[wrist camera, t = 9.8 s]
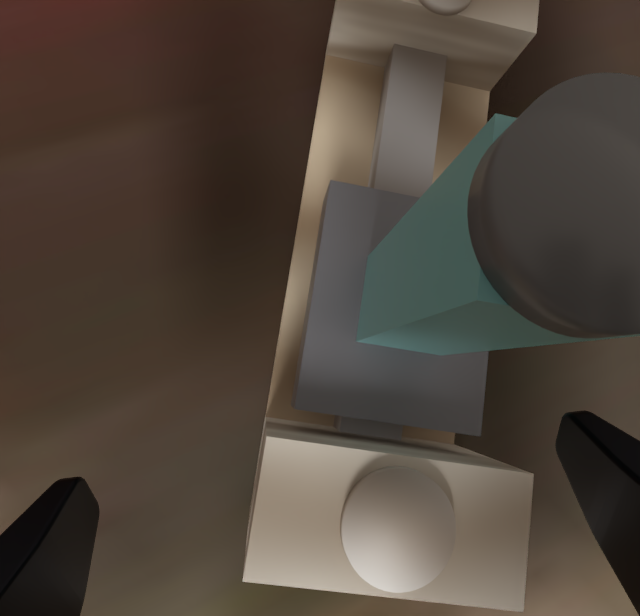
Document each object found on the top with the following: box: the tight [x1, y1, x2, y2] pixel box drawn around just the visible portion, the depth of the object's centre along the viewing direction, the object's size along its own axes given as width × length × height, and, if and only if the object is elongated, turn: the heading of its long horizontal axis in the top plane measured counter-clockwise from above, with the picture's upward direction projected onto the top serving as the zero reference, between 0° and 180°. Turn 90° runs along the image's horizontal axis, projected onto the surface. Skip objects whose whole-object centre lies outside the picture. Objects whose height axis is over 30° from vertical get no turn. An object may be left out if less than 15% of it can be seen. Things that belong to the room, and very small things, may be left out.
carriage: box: [291, 73, 640, 437], centre depth 12 cm, size 8×6×12 cm
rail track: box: [242, 0, 539, 612], centre depth 18 cm, size 22×8×7 cm, turn 171°
